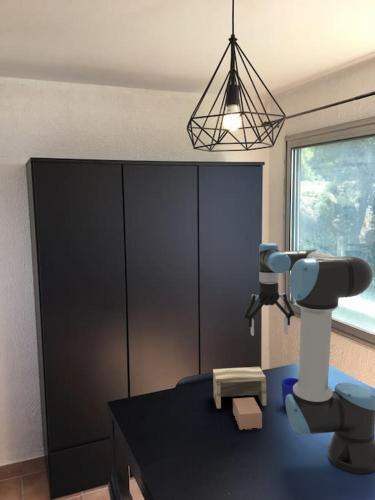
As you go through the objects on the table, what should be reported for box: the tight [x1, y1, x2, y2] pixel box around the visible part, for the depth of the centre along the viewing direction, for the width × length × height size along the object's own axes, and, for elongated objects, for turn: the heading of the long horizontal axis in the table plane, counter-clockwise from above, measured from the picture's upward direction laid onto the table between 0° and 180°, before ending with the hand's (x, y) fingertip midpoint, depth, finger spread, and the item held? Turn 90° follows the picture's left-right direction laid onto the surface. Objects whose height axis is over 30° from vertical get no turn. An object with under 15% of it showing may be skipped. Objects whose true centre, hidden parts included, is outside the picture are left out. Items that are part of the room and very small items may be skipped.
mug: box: [280, 377, 298, 408], centre depth 169 cm, size 8×12×10 cm
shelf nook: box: [212, 366, 267, 409], centre depth 176 cm, size 11×20×12 cm, turn 94°
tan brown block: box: [232, 396, 263, 431], centre depth 161 cm, size 12×8×6 cm, turn 6°
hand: (269, 333), depth 176 cm, fingers open, 13 cm apart
